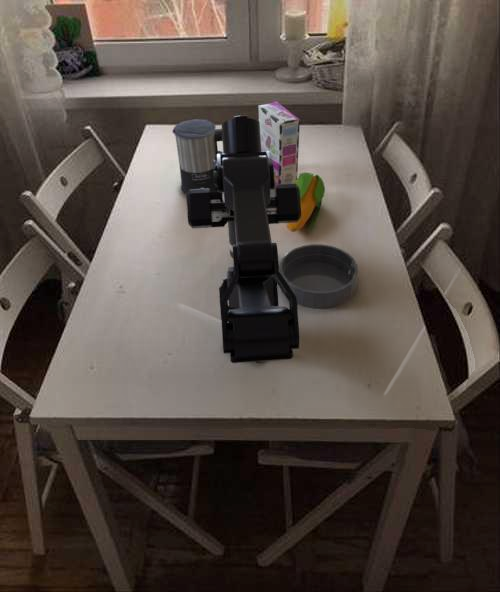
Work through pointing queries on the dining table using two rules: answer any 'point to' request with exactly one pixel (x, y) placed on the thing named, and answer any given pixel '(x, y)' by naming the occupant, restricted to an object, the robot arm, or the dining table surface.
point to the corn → (308, 199)
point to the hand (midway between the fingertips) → (243, 216)
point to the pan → (320, 275)
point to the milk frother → (197, 153)
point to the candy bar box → (280, 140)
